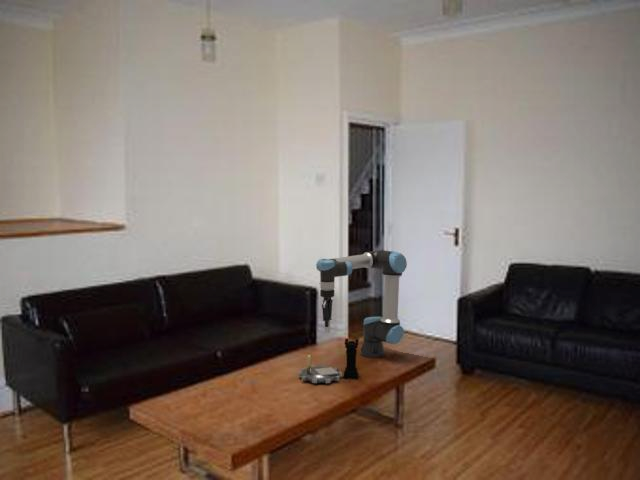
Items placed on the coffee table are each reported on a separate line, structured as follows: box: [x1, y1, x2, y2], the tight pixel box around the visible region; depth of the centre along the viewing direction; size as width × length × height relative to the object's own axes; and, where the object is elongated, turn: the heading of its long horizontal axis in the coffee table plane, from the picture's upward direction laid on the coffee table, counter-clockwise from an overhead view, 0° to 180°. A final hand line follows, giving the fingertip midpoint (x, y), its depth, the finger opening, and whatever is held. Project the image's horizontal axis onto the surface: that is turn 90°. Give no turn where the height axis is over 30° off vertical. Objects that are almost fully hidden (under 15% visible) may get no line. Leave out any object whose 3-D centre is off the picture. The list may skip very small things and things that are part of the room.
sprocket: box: [298, 354, 343, 384], centre depth 309 cm, size 23×23×12 cm
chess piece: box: [342, 338, 360, 381], centre depth 312 cm, size 8×8×20 cm
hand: (327, 332), depth 310 cm, fingers closed
